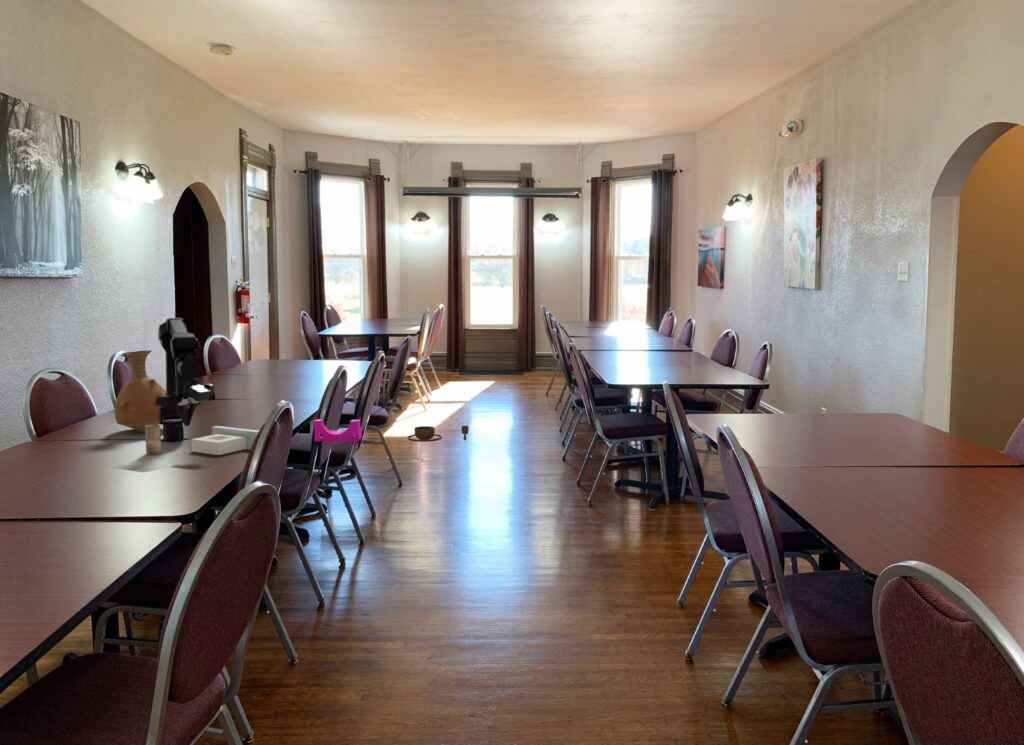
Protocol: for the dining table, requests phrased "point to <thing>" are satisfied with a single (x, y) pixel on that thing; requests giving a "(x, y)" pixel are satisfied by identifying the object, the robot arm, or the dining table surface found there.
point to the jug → (138, 396)
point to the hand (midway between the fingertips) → (187, 425)
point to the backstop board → (236, 433)
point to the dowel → (153, 439)
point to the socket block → (219, 444)
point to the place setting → (431, 434)
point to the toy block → (338, 432)
